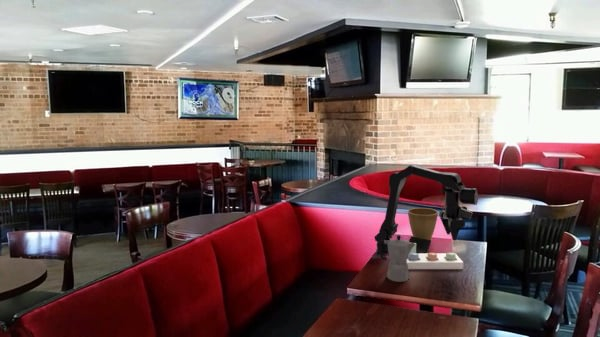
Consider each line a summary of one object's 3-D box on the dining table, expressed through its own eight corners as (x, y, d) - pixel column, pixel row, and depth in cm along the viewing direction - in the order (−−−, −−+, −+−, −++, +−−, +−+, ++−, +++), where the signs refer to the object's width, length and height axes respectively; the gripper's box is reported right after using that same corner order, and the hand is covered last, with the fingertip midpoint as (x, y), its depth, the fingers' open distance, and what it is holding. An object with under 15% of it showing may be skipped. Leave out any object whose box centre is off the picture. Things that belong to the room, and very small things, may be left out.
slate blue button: (410, 263, 203) (410, 255, 203) (408, 260, 207) (408, 252, 207) (419, 263, 203) (419, 255, 203) (417, 260, 207) (417, 252, 206)
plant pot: (402, 238, 245) (403, 208, 243) (429, 236, 248) (429, 207, 246) (414, 246, 231) (415, 215, 229) (442, 244, 233) (443, 213, 231)
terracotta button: (428, 263, 203) (428, 255, 202) (426, 260, 207) (426, 252, 206) (437, 263, 203) (438, 255, 202) (435, 260, 207) (435, 252, 206)
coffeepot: (415, 274, 194) (415, 233, 191) (414, 283, 185) (415, 239, 182) (377, 272, 198) (378, 231, 195) (375, 280, 189) (375, 237, 186)
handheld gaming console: (400, 249, 223) (407, 230, 226) (403, 254, 229) (410, 236, 232) (423, 256, 217) (430, 237, 220) (425, 261, 223) (432, 243, 226)
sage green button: (447, 263, 202) (447, 255, 202) (444, 260, 206) (445, 252, 206) (456, 263, 202) (456, 255, 202) (453, 260, 206) (454, 252, 206)
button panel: (406, 269, 201) (406, 251, 199) (402, 259, 212) (402, 242, 211) (463, 269, 199) (463, 251, 198) (455, 259, 211) (455, 242, 210)
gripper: (478, 206, 192) (477, 243, 194) (464, 197, 211) (463, 231, 213) (451, 207, 192) (450, 243, 195) (439, 198, 211) (438, 231, 213)
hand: (451, 237), depth 204 cm, fingers open, 9 cm apart
